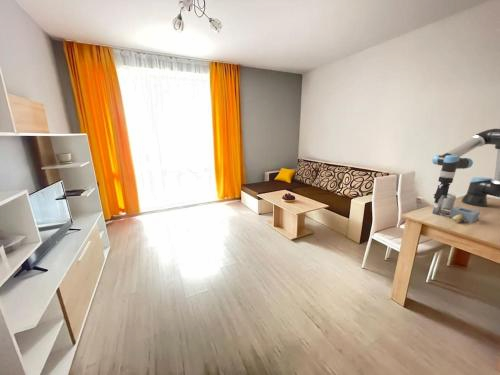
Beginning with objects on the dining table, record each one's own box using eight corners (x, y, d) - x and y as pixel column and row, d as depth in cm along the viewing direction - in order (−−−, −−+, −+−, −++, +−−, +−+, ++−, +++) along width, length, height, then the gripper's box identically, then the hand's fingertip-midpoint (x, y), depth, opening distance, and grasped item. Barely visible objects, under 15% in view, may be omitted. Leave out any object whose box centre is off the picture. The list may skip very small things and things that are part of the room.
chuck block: (455, 213, 156) (457, 206, 154) (477, 219, 146) (480, 211, 144) (443, 219, 145) (445, 211, 144) (466, 226, 135) (468, 218, 133)
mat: (438, 209, 163) (438, 208, 163) (451, 212, 157) (451, 212, 157) (433, 211, 160) (433, 210, 160) (446, 214, 153) (447, 214, 153)
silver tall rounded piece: (430, 211, 159) (435, 193, 155) (442, 214, 153) (448, 196, 149) (427, 212, 157) (432, 194, 153) (440, 215, 151) (446, 196, 147)
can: (448, 207, 168) (453, 193, 165) (454, 210, 161) (459, 196, 158) (437, 206, 171) (441, 192, 167) (443, 209, 164) (447, 195, 160)
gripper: (445, 174, 155) (437, 202, 161) (433, 177, 145) (425, 206, 151) (459, 176, 148) (450, 205, 155) (447, 179, 138) (438, 210, 145)
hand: (438, 205), depth 153 cm, fingers open, 9 cm apart
